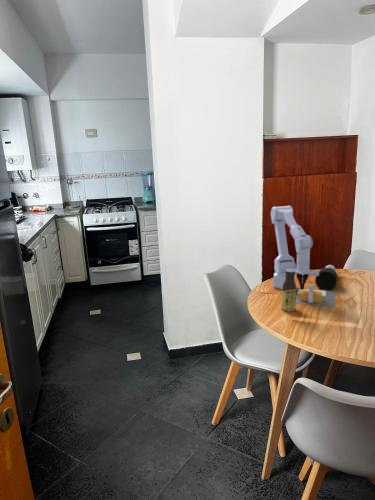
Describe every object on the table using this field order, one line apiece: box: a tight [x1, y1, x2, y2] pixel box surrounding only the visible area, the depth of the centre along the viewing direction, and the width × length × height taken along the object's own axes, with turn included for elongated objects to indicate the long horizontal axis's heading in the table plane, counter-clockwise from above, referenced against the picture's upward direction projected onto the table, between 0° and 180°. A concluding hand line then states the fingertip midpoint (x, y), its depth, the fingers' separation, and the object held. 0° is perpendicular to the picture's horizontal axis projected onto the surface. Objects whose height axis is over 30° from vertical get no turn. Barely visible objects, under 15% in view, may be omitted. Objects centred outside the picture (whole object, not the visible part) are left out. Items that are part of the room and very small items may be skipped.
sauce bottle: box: [280, 269, 297, 313], centre depth 165 cm, size 6×6×20 cm
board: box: [296, 288, 337, 308], centre depth 179 cm, size 18×20×2 cm
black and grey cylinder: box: [314, 264, 338, 291], centre depth 202 cm, size 10×34×10 cm, turn 152°
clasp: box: [308, 283, 315, 303], centre depth 175 cm, size 2×9×7 cm, turn 159°
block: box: [300, 290, 322, 303], centre depth 175 cm, size 10×4×4 cm, turn 69°
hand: (302, 288), depth 176 cm, fingers closed
